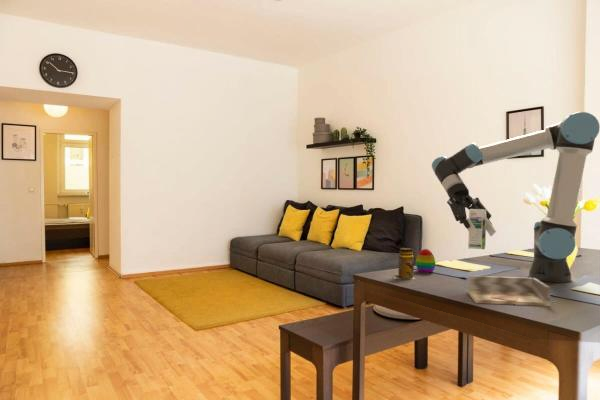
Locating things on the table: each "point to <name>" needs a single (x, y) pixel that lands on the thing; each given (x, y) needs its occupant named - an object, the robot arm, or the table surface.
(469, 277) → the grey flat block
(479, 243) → the syrup box
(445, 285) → the table surface
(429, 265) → the decorative egg
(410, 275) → the condiment
